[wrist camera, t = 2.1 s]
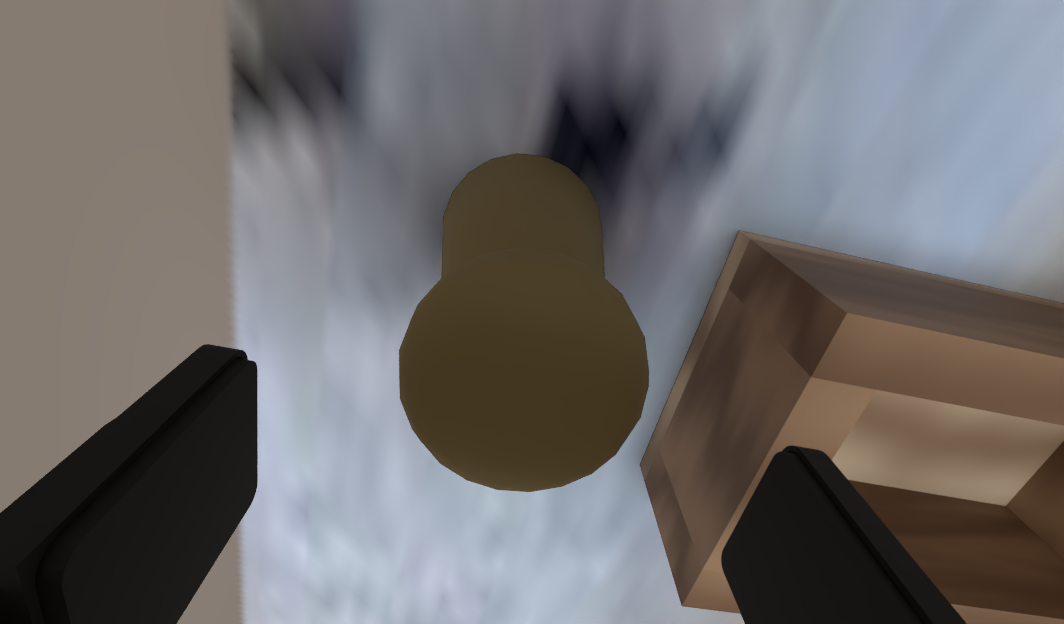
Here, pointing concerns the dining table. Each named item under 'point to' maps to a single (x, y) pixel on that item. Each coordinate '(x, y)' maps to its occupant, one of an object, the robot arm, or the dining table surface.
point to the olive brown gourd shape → (523, 335)
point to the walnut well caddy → (874, 421)
